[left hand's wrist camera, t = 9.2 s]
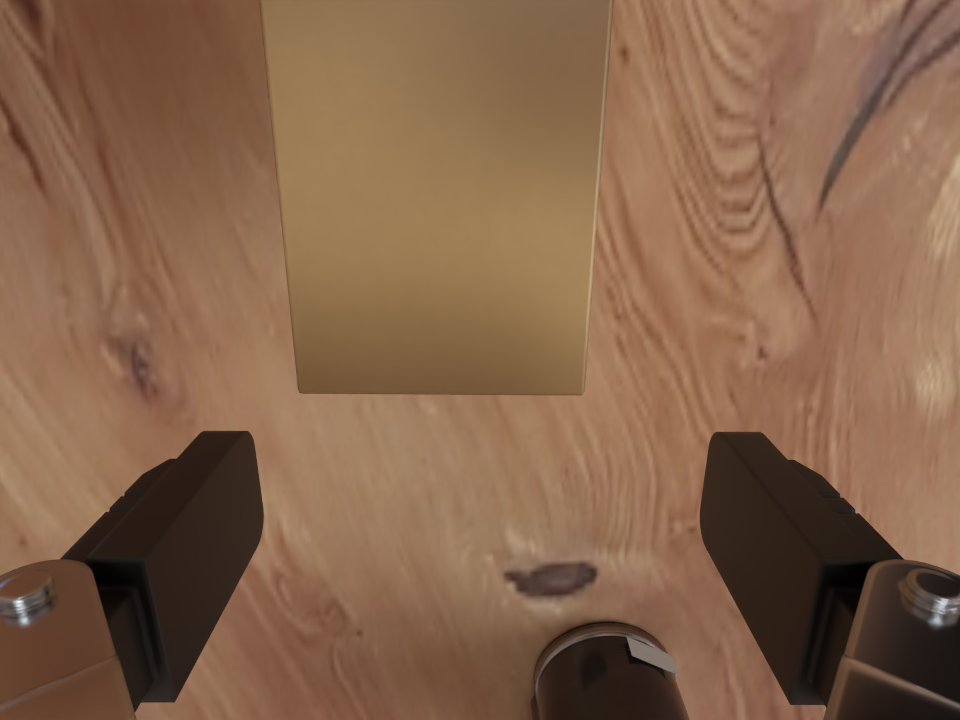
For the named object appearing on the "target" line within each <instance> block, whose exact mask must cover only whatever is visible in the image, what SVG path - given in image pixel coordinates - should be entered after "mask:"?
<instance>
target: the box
mask: <svg viewBox="0 0 960 720" xmlns="http://www.w3.org/2000/svg"><path fill="white" fill-rule="evenodd" d="M259 3H260V13H261V23H262V33H263V43H264V53H265V63H266V73H267V83H268V94H269V104H270V114H271V124H272V134H273V144H274V154H275V164H276V174H277V184H278V194H279V204H280V214H281V224H282V234H283V244H284V254H285V264H286V274H287V284H288V294H289V304H290V314H291V324H292V334H293V344H294V354H295V364H296V374H297V384H298V390H299V393H302V394H452V395H583V393H584V391H585V378H586V365H587V352H588V338H589V325H590V311H591V298H592V284H593V271H594V258H595V244H596V231H597V217H598V204H599V191H600V177H601V164H602V150H603V137H604V123H605V110H606V97H607V83H608V70H609V56H610V43H611V30H612V16H613V3H614V0H259Z"/></svg>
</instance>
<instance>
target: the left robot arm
mask: <svg viewBox="0 0 960 720" xmlns="http://www.w3.org/2000/svg"><path fill="white" fill-rule="evenodd" d="M263 518H264V514H263V503H262V496H261V488H260V481H259V474H258V466H257V459H256V452H255V445H254V440H253V438H252V435H251V434H250V433H249V432H248V431H203V432H201V433H200V434H199V435H198V436H197V437H196V438H195V439H194V440H193V442H192V443H191V444H190V445H189V446H188V447H187V448H186V449H185V450H184V451H183V452H182V453H181V455H180V456H179V457H178V458H177V459H169V460H167V461H165V462H163V463H162V464H160V465H158V466H156V467H155V468H153V469H151V470H149V471H148V472H146V473H144V474H142V475H141V477H140V478H139V479H138V480H137V481H136V482H135V483H134V484H133V485H132V486H131V487H130V488H129V489H128V490H127V491H126V492H125V496H121V497H120V498H119V499H118V500H117V501H116V502H115V503H114V504H113V505H112V506H111V507H110V511H109V512H105V513H104V514H103V515H102V517H101V518H100V519H99V520H98V521H97V522H96V523H95V524H94V525H93V526H92V527H91V528H90V529H89V530H88V531H87V532H86V533H85V534H84V535H83V536H82V537H81V538H80V539H79V540H78V541H77V542H76V543H75V544H74V545H73V546H72V547H71V548H70V549H69V550H68V551H67V552H66V553H65V554H64V556H63V557H62V558H61V559H60V560H48V561H42V562H38V563H33V564H30V565H26V566H23V567H20V568H17V569H15V570H12V571H10V572H7V573H5V574H3V575H1V576H0V720H137V719H136V716H135V711H136V710H137V708H138V706H139V705H140V703H141V702H175V701H176V699H177V697H178V695H179V693H180V691H181V689H182V688H183V686H184V684H185V682H186V680H187V678H188V676H189V674H190V672H191V671H192V669H193V667H194V665H195V663H196V661H197V659H198V657H199V656H200V654H201V652H202V650H203V648H204V646H205V644H206V642H207V641H208V639H209V637H210V635H211V633H212V631H213V629H214V627H215V625H216V624H217V622H218V620H219V618H220V616H221V614H222V612H223V610H224V609H225V607H226V605H227V603H228V601H229V599H230V597H231V595H232V594H233V592H234V590H235V588H236V586H237V584H238V582H239V580H240V578H241V577H242V575H243V573H244V571H245V569H246V567H247V565H248V563H249V562H250V560H251V558H252V556H253V554H254V552H255V550H256V548H257V546H258V544H259V542H260V538H261V534H262V529H263ZM700 528H701V534H702V538H703V542H704V545H705V547H706V549H707V551H708V553H709V554H710V556H711V558H712V560H713V562H714V564H715V566H716V567H717V569H718V571H719V573H720V575H721V577H722V579H723V580H724V582H725V584H726V586H727V588H728V590H729V592H730V593H731V595H732V597H733V599H734V601H735V603H736V605H737V606H738V608H739V610H740V612H741V614H742V616H743V618H744V619H745V621H746V623H747V625H748V627H749V629H750V631H751V632H752V634H753V636H754V638H755V640H756V642H757V644H758V645H759V647H760V649H761V651H762V653H763V655H764V657H765V658H766V660H767V662H768V664H769V666H770V668H771V670H772V671H773V673H774V675H775V677H776V679H777V681H778V683H779V684H780V686H781V688H782V690H783V692H784V694H785V696H786V697H787V699H788V701H789V703H790V705H825V706H826V708H827V709H826V712H825V716H824V719H823V720H960V576H959V575H957V574H955V573H953V572H950V571H948V570H945V569H943V568H940V567H937V566H934V565H930V564H927V563H922V562H918V561H912V560H904V559H903V558H902V557H901V556H900V555H899V554H898V553H897V552H896V551H895V550H894V549H893V548H892V547H891V546H890V545H889V544H888V543H887V541H886V540H885V539H884V538H883V537H882V536H881V535H880V534H879V533H878V532H877V531H876V530H875V529H874V528H873V527H872V526H871V525H870V524H869V523H868V522H867V521H866V520H865V519H864V518H863V517H862V516H861V515H860V514H856V513H855V509H854V508H853V507H852V506H851V505H850V504H849V503H848V502H847V501H846V500H845V499H844V498H840V494H839V493H838V492H837V491H836V490H835V489H834V488H833V487H832V486H831V485H830V484H829V483H828V482H827V480H826V479H825V478H824V477H823V476H821V475H820V474H818V473H816V472H814V471H813V470H811V469H809V468H807V467H806V466H804V465H802V464H800V463H799V462H797V461H795V460H787V459H786V458H785V457H784V456H783V454H782V453H781V452H780V451H779V450H778V449H777V448H776V447H775V446H774V445H773V444H772V443H771V441H770V440H769V439H768V438H767V437H766V436H765V435H764V434H763V433H761V432H715V433H714V434H713V436H712V437H711V440H710V443H709V449H708V456H707V463H706V470H705V478H704V485H703V492H702V499H701V507H700ZM675 674H676V675H678V673H677V670H676V667H675V664H674V662H673V659H672V656H671V655H669V654H667V652H666V650H665V648H664V647H663V646H662V644H661V643H660V642H659V641H658V640H657V639H656V638H654V637H653V636H652V635H650V634H649V633H647V632H645V631H643V630H641V629H639V628H636V627H633V626H630V625H625V624H618V623H598V624H591V625H587V626H583V627H580V628H577V629H574V630H572V631H570V632H568V633H566V634H564V635H562V636H561V637H559V638H558V639H556V640H555V641H554V642H553V643H552V644H550V645H549V646H548V648H547V649H546V650H545V651H544V652H543V654H542V655H541V657H540V659H539V661H538V663H537V666H536V669H535V675H534V682H535V691H536V695H535V696H534V698H533V699H532V700H531V708H532V718H533V720H690V719H689V717H688V714H687V711H686V708H685V705H684V703H683V700H682V697H681V694H680V691H679V688H678V686H677V683H676V679H675Z"/></svg>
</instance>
